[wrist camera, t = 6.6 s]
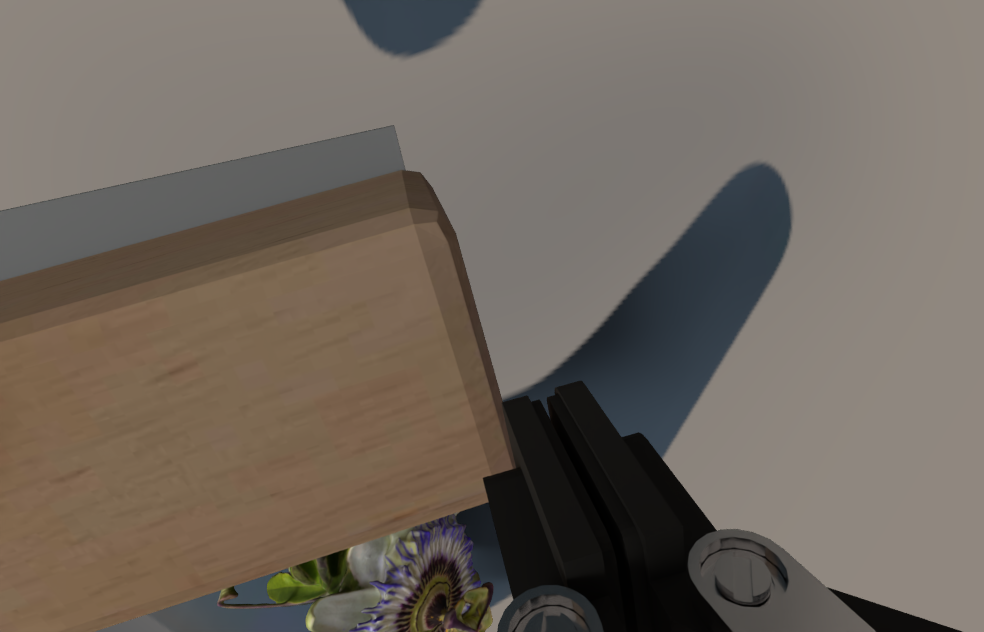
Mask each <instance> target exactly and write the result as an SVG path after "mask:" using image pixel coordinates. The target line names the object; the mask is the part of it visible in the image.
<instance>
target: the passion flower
mask: <svg viewBox="0 0 984 632" xmlns="http://www.w3.org/2000/svg"><path fill="white" fill-rule="evenodd" d="M458 513H459V512H457V513H454V514H451V515H448V516H445V517H442V518H439V519H436V520H433V521H430V522H427V523H424V524H420V525H417V526H414V527H411V528H408V529H405V530H402V531H399V532H396V533H393V534H390V535H387V536H384V537H381V538H378V539H375V540H372V541H369V542H366V543H363V544H360V545H357V546H353V547H350V548H347V549H344V550H341V551H338V552H335V553H332V554H329V555H326V556H323V557H320V558H317V559H314V560H311V561H308V562H305V563H302V564H299V565H296V566H293V567H289V568H288V570H289V572H290V573H287V572H286V573H282V572H279V573H278V574H276V575H275V576H272V578H271V579H270V580H269V582H268V584H267V593H268V595H269V598H270V599H272V600H274V601H276V603H278V604H267V603H266V604H256V605H254V604H224V601H225V600H228V599H233V598H236V597H237V596H238V593H237V592H236V591H235V589H234V586H232V587H229V588H226V589H222V590H221V594H220V597H219V600H218V603H217V605H218V606H220V607H225V608H249V609H254V608H271V607H277V606H281V607H287V606H295V605H306V604H310V603H313V604H312V605H311V607H310V609H309V611H308V613H307V616H306V627H307V628H308V630H310V631H311V632H485V630H486V629H487V628H488V627H490V626H491V624H492V621H493V619H492V615H491V611H490V607H489V604H490V602H491V599H492V595H493V584H492V583H490V582H487V583H484V584H483V585H482V587H480V584H481V581H480V578H479V574H478V572H476V571H475V570H474V569H473V566H472V564H473V562H472V560H471V558H472V554H471V553H470V551H472V549H473V542H472V540H471V538H470V537H466V534H465V533H464V530H465V528H466V525H463V524H458V523H457V521H456V515H457V514H458ZM346 571H347V572H346Z"/></svg>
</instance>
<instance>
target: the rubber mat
mask: <svg viewBox="0 0 984 632" xmlns="http://www.w3.org/2000/svg"><path fill="white" fill-rule="evenodd" d="M399 170H405V166H404V163H403V159H402V155H401V151H400V147H399V143H398V139H397V135H396V131H395V127H394V125H393V126H388V127H384V128H379V129H374V130H369V131H365V132H360V133H356V134H351V135H347V136H342V137H337V138H333V139H328V140H324V141H319V142H314V143H310V144H305V145H301V146H296V147H291V148H287V149H282V150H277V151H273V152H268V153H264V154H259V155H255V156H250V157H245V158H241V159H237V160H231V161H227V162H222V163H218V164H213V165H208V166H204V167H200V168H195V169H190V170H186V171H181V172H176V173H172V174H167V175H163V176H158V177H154V178H149V179H144V180H140V181H135V182H130V183H126V184H122V185H117V186H112V187H108V188H103V189H98V190H94V191H89V192H85V193H80V194H75V195H71V196H66V197H62V198H57V199H52V200H48V201H43V202H39V203H34V204H29V205H25V206H20V207H16V208H11V209H7V210H2V211H0V281H2V280H6V279H9V278H13V277H17V276H20V275H24V274H28V273H31V272H35V271H38V270H42V269H46V268H49V267H53V266H56V265H60V264H64V263H67V262H71V261H74V260H78V259H82V258H85V257H89V256H92V255H96V254H100V253H103V252H107V251H111V250H114V249H118V248H121V247H125V246H129V245H132V244H136V243H139V242H143V241H147V240H150V239H154V238H157V237H161V236H165V235H168V234H172V233H176V232H179V231H183V230H186V229H190V228H194V227H197V226H201V225H204V224H208V223H212V222H215V221H219V220H222V219H226V218H230V217H233V216H237V215H241V214H244V213H248V212H251V211H255V210H259V209H262V208H266V207H269V206H273V205H277V204H280V203H284V202H287V201H291V200H295V199H298V198H302V197H306V196H309V195H313V194H316V193H320V192H324V191H327V190H331V189H334V188H338V187H342V186H345V185H349V184H352V183H356V182H360V181H363V180H367V179H370V178H374V177H378V176H381V175H385V174H389V173H392V172H396V171H399ZM405 171H406V170H405Z"/></svg>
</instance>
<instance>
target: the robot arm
mask: <svg viewBox="0 0 984 632" xmlns="http://www.w3.org/2000/svg"><path fill="white" fill-rule="evenodd" d="M547 404H548V409H549V415H550V418H549V416H548V414H547V413H546V411H545V409H544V407H543V405H542V403H541V401H540V400H536V401H532V402H531V401H530V399H529V397H528V396H524V397H520V398H516V399H513V400H509V401H506V402H502V409H503V414H504V418H505V423H506V427H507V431H508V436H509V440H510V444H511V449H512V453H513V457H514V462H515V466H516V468H515V469H511V470H508V471H504V472H501V473H498V474H494V475H491V476H487V477H484V478H483V482H484V486H485V490H486V494H487V498H488V502H489V505H490V509H491V513H492V517H493V521H494V525H495V529H496V533H497V537H498V541H499V545H500V549H501V553H502V557H503V561H504V565H505V569H506V573H507V576H508V580H509V584H510V588H511V592H512V596H513V601H512V602H511V604H510V605H509V606H508V607H507V608H506V609H505V611H504V613H503V615H502V618H501V620H500V622H499V624H498V631H497V632H962V631H959V630H955V629H953V628H950V627H947V626H943V625H940V624H937V623H935V622H931V621H928V620H925V619H922V618H919V617H916V616H913V615H910V614H907V613H904V612H901V611H898V610H895V609H891V608H888V607H886V606H882V605H879V604H876V603H873V602H870V601H867V600H864V599H861V598H858V597H855V596H852V595H848V594H846V593H843V592H840V591H837V590H834V589H831V588H827V587H825V586H824V585H823V584H822V583H821V582H820V581H819V580H818V579H817V578H816V577H814V576H813V575H812V574H811V573H810V572H809V571H808V570H806V569H805V568H804V567H803V566H802V565H801V564H800V563H799V562H797V561H796V560H795V559H794V558H793V557H792V556H791V555H790V554H789V553H788V552H786V551H785V550H784V549H783V548H781V547H780V546H779V545H777V544H776V543H774V542H773V541H771V540H770V539H768V538H765V537H763V536H761V535H759V534H756V533H753V532H749V531H744V530H739V529H726V530H718V531H717V530H716V529H715V528H714V526H713V525H712V524H711V522H710V521H709V520H708V519H707V517H706V516H705V515H704V513H703V512H702V511H701V509H700V508H699V507H698V505H697V504H696V503H695V501H694V500H693V499H692V498H691V496H690V495H689V494H688V492H687V491H686V490H685V488H684V487H683V486H682V484H681V483H680V482H679V481H678V479H677V478H676V477H675V475H674V474H673V473H672V471H671V470H670V469H669V467H668V466H667V465H666V463H665V462H664V461H663V460H662V458H661V457H660V456H659V454H658V453H657V452H656V450H655V449H654V448H653V446H652V445H651V444H650V443H649V441H648V440H647V439H646V438H645V437H644V435H643V434H641V433H639V432H638V433H635V434H632V435H628V436H625V437H621V436H620V435H619V433H618V432H617V430H616V429H615V427H614V426H613V424H612V423H611V422H610V420H609V419H608V417H607V416H606V414H605V413H604V411H603V410H602V409H601V407H600V406H599V404H598V403H597V401H596V400H595V398H594V397H593V396H592V394H591V393H590V391H589V390H588V388H587V387H586V385H585V384H584V383H583V382H582V381H577V382H574V383H570V384H567V385H563V386H559V387H556V388H555V395H554V396H550V397H547Z"/></svg>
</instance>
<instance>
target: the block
mask: <svg viewBox="0 0 984 632" xmlns="http://www.w3.org/2000/svg"><path fill="white" fill-rule="evenodd" d="M502 402H503V401H502V398H501V394H500V391H499V387H498V383H497V380H496V376H495V373H494V369H493V366H492V362H491V358H490V355H489V351H488V348H487V344H486V340H485V337H484V333H483V330H482V326H481V322H480V319H479V315H478V312H477V308H476V305H475V301H474V297H473V294H472V290H471V286H470V283H469V279H468V276H467V272H466V268H465V265H464V261H463V258H462V254H461V250H460V247H459V243H458V240H457V236H456V233H455V231H454V229H453V227H452V225H451V223H450V221H449V219H448V217H447V215H446V214H445V211H444V209H443V207H442V205H441V204H440V202H439V200H438V198H437V196H436V194H435V192H434V190H433V188H432V187H431V185H430V184H429V183H428V182H427V180H426V179H425V178H424V176H423V175H422V174H421V173H420V172H412V171H405V170H399V171H396V172H392V173H389V174H385V175H381V176H378V177H374V178H370V179H367V180H363V181H360V182H356V183H352V184H349V185H345V186H342V187H338V188H334V189H331V190H327V191H324V192H320V193H316V194H313V195H309V196H306V197H302V198H298V199H295V200H291V201H287V202H284V203H280V204H277V205H273V206H269V207H266V208H262V209H259V210H255V211H251V212H248V213H244V214H241V215H237V216H233V217H230V218H226V219H222V220H219V221H215V222H212V223H208V224H204V225H201V226H197V227H194V228H190V229H186V230H183V231H179V232H176V233H172V234H168V235H165V236H161V237H157V238H154V239H150V240H147V241H143V242H139V243H136V244H132V245H129V246H125V247H121V248H118V249H114V250H111V251H107V252H103V253H100V254H96V255H92V256H89V257H85V258H82V259H78V260H74V261H71V262H67V263H64V264H60V265H56V266H53V267H49V268H46V269H42V270H38V271H35V272H31V273H28V274H24V275H20V276H17V277H13V278H9V279H6V280H2V281H0V632H94V631H97V630H100V629H103V628H107V627H110V626H113V625H116V624H119V623H122V622H125V621H128V620H131V619H134V618H137V617H140V616H143V615H146V614H149V613H152V612H155V611H158V610H162V609H165V608H168V607H171V606H174V605H177V604H180V603H183V602H186V601H189V600H192V599H195V598H198V597H201V596H204V595H207V594H210V593H213V592H216V591H219V590H222V589H226V588H229V587H232V586H235V585H238V584H241V583H244V582H247V581H250V580H253V579H256V578H259V577H262V576H265V575H268V574H271V573H274V572H277V571H280V570H283V569H286V568H289V567H293V566H296V565H299V564H302V563H305V562H308V561H311V560H314V559H317V558H320V557H323V556H326V555H329V554H332V553H335V552H338V551H341V550H344V549H347V548H350V547H353V546H357V545H360V544H363V543H366V542H369V541H372V540H375V539H378V538H381V537H384V536H387V535H390V534H393V533H396V532H399V531H402V530H405V529H408V528H411V527H414V526H417V525H420V524H424V523H427V522H430V521H433V520H436V519H439V518H442V517H445V516H448V515H451V514H454V513H457V512H460V511H463V510H466V509H469V508H472V507H475V506H478V505H481V504H484V503H487V502H488V498H487V494H486V490H485V486H484V482H483V478H484V477H487V476H491V475H494V474H498V473H501V472H504V471H508V470H511V469H515V468H516V466H515V462H514V457H513V453H512V449H511V444H510V440H509V436H508V431H507V427H506V423H505V418H504V414H503V409H502Z"/></svg>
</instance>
